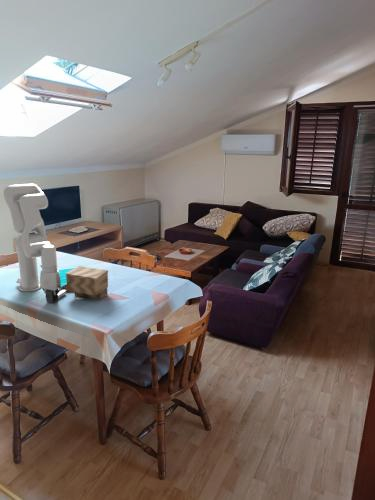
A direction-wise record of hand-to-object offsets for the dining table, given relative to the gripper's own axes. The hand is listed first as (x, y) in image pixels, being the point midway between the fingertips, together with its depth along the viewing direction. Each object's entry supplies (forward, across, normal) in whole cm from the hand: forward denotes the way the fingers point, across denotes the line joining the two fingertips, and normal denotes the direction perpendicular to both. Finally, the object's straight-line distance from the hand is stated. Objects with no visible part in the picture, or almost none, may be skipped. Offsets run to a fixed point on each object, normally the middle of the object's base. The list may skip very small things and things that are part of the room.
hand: (52, 299), depth 195 cm
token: (+2, +11, +9) cm, 15 cm away
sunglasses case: (+2, 0, +22) cm, 22 cm away
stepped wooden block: (+1, +14, +13) cm, 19 cm away
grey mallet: (+1, 0, +5) cm, 5 cm away
